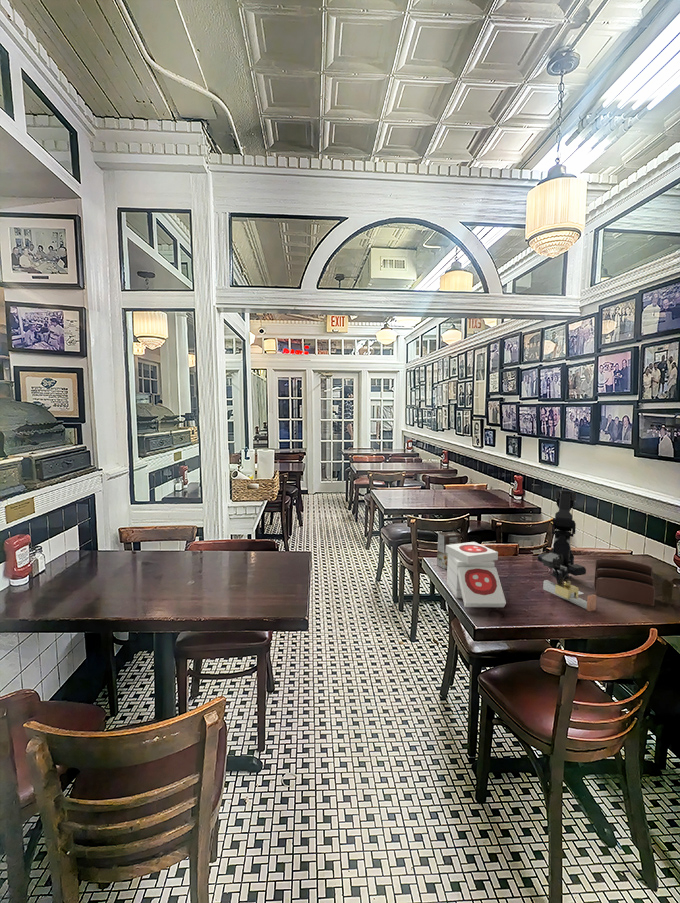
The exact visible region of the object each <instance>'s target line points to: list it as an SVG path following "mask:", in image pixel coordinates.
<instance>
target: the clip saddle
mask: <svg viewBox="0 0 680 903" xmlns="http://www.w3.org/2000/svg"><path fill="white" fill-rule="evenodd" d="M555 584H556V587H555V593H556V594H558V595H560V596H562V597H565V598H567V599H570V595H571V593H574V596H576V597H579V595H578V592H579V591H580V589H579V587H577V586H575V585H573V584H572V583H571V580H570V579H564V580H563V582H562V583H560V584H558V583H555Z"/></svg>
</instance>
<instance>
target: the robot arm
mask: <svg viewBox="0 0 680 903" xmlns="http://www.w3.org/2000/svg"><path fill="white" fill-rule="evenodd" d="M554 500H555V501H556V506H557V508H558V511H557V512H556V513H555V514H554V517H553V518H552V526H551V527H552V528H551V534H552V535H554V539H553V545H552V548H551V549H550V552H549V553H548V552H543V553H539V554H537V561H538V562H540V563H542V565H543V566H544V567H548V568H549V569H551V570H552V573H550V576H552V577H554V578H555V580H556V584H560V583H564V580H568V579H571V578H573V577H572V576H575V577H578V576H582V575H586V574H587V568H586V567H585V566H583V565H580V564H577V563H576V564H574V562H575V555H574V554H573V550H572V547H571V538H572V537H573V538H574V535H576V530H577V529H576V528H577V527H576V526H577V524H576V521H575V520H574V519H573V514H572V512H570V511H571V510H572V509H573V507H574V506H575V503H576V502H577V493H576V492H574V491H573V490H566V489H559V490H555V493H554ZM569 574H570V575H569ZM571 575H572V576H571Z"/></svg>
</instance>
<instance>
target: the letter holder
mask: <svg viewBox="0 0 680 903" xmlns="http://www.w3.org/2000/svg"><path fill="white" fill-rule="evenodd" d="M594 569H595V570H594V571H595V572H594V584H593V588H594V595H596V597H597V596H598V597H604V598H609V599H615V600H619V601H620V600H621V601H626V602H632V603H638V604H641V605H645V606H651V607H655V600H656V587H654V584H655V583H654V582H655V578H654V577H653V567H652V566H650V565H647V564H644V563H640V562H635V561H630V560H623V559H614V558H597V559H595V568H594Z"/></svg>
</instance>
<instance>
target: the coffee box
mask: <svg viewBox="0 0 680 903" xmlns="http://www.w3.org/2000/svg"><path fill="white" fill-rule="evenodd" d="M437 536H438V537H437V553H436V557H437V558H436V565H437V566H438V567H440V568H442V569H445V570H446V569H447V563H448V553H446V552H445V551H446V545H451V544H459V543H462V534H460V533H458V532H455V531H445V532H437Z"/></svg>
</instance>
